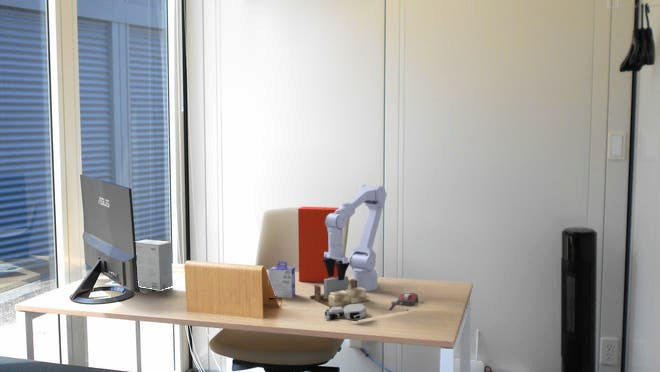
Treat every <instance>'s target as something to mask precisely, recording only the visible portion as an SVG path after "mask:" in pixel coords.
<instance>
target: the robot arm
mask: <svg viewBox="0 0 660 372" xmlns="http://www.w3.org/2000/svg"><path fill="white" fill-rule="evenodd" d="M387 195H388V194H387V191H386V189H385V187H384V186H381V185H378V186H377V185H367V184H363V185H361V186H360V187H359V188H358V192H357V194H355V196H354V197H353V198H352V199H351V200H350V201H348V202H347V201H346V202H343V203H342V204H341V206H340V207H338V208H339V209H337V210H336V211H335V212H334V213H330V214H329V215H328V216H327V217H326V221H325V224H326V226H327V231H328V244H329V252H324V257H326V258H325V259H323V262H324V264H325V266H326V269H327V273H328V276H329V277H330V276H334V267H335V265H336V268H337V272H338V280H339V281H340V280H344V277H345V276H346V272H347V270H348V268H349V266H350V267H351V270H352V271H353V279H354V280H357V288H359V287H361V288H364V289H366V292H369V291H370V292H371V291H373V290H378V272H377V270H375V267H376V265H377V264H376V258H377V254H376V252H375V250H374V249H373V246H374V242H375V238H376V235H377V231H378V227H379V223H380V220H381V216H382V213H383V208H384V207H385V203H386V200H387ZM363 203H364V206H366V207H367V208H368V212H367V216H366V220H365V224H364V226H363V227H364V228H363V230H362V235H361V238H360V242H359V245H358V246H356V247H354V249H353V251H352V253H351V254H350V257H347V256H345V255H344V228H345V227H346V225H347V222H348V220H350V218H351V217H353V215H355V213H356V209H358V207H360V206H361V205H362V204H363ZM336 260H337V261H339V262H338V263H335V262H336Z"/></svg>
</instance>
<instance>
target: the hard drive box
mask: <svg viewBox="0 0 660 372" xmlns="http://www.w3.org/2000/svg"><path fill="white" fill-rule="evenodd" d="M135 242H136V255H137V268H138V281H139V286H141V287H146V288H152V289H157V290H162V289H165V288H168V287H171V286H173V285H174V283H173V259H172V258H173V255H172V242H171V241H164V240H163V241H162V240H154V239H142V240H136V241H135ZM173 287H174V286H173Z"/></svg>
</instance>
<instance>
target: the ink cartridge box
mask: <svg viewBox="0 0 660 372" xmlns="http://www.w3.org/2000/svg"><path fill="white" fill-rule="evenodd" d="M287 263H288V261H281V260H280V261H278V262H277V266H271V267H270V268H268V281H269V280H270V283H271V285H272V287H273V290H274V292H275V295H276V296H277V297H276V298H288V299H292V298H294V297H295V296H296V268H295V267H293V266H291V267H290V266H287V265H288V264H287ZM282 264H283V265H282Z"/></svg>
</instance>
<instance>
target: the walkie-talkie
mask: <svg viewBox="0 0 660 372" xmlns="http://www.w3.org/2000/svg"><path fill="white" fill-rule="evenodd" d="M418 302H419V295H418V294H417V293H416V292H415V293H413V292H404V293H403V292H402V293H401V294H400V296H399V297H396V298H393V299H392V300H391V306H390V307H389V309H388V311H392V310H393V309H394V307H395V306H396V305H397V306H405V307H414V306H415V305H416V303H418Z"/></svg>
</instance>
